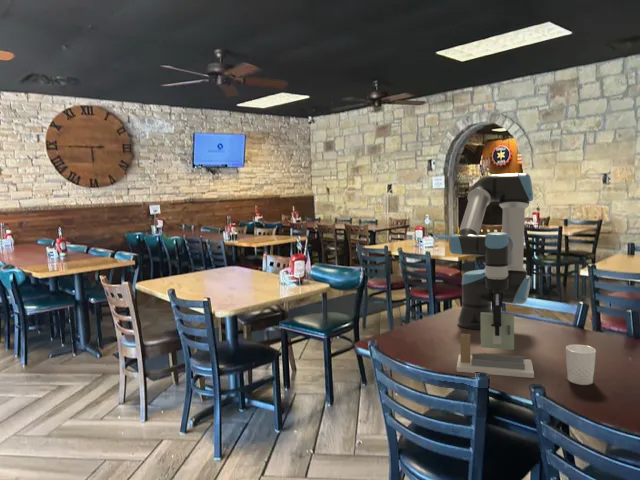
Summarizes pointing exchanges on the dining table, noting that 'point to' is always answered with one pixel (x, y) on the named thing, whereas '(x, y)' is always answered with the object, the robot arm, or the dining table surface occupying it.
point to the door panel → (506, 331)
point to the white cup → (580, 364)
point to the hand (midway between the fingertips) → (497, 341)
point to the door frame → (492, 362)
